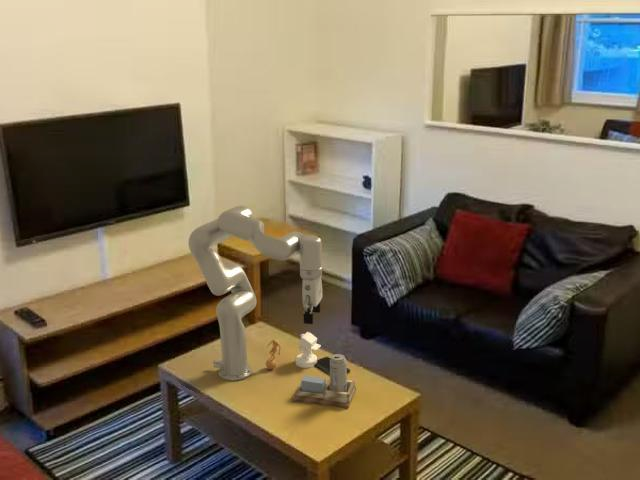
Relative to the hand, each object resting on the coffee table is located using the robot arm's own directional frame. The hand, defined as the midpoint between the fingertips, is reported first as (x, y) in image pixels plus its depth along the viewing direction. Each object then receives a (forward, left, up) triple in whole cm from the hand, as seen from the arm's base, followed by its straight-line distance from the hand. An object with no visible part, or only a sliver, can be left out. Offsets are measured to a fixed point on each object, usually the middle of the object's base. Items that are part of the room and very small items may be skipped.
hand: (312, 317), depth 247 cm
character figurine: (-9, +23, -31) cm, 39 cm away
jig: (+4, 0, -30) cm, 31 cm away
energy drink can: (+9, 0, -30) cm, 31 cm away
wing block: (0, 0, -29) cm, 29 cm away
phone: (+1, +21, -31) cm, 37 cm away
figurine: (-21, +16, -31) cm, 40 cm away
